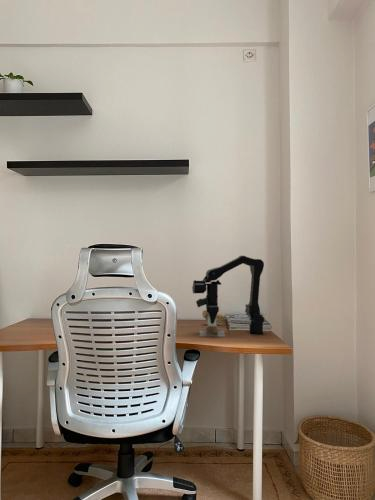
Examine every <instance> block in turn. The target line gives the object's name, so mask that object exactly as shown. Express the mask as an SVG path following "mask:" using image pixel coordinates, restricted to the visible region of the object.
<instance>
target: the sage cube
mask: <svg viewBox="0 0 375 500" xmlns="http://www.w3.org/2000/svg"><path fill="white" fill-rule="evenodd" d="M217 321H218V320H217V317H216V318H215V321H214V323H213V324H211V320H210V316H208V320H207V327H218V325H217Z"/></svg>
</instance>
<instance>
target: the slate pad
mask: <svg viewBox="0 0 375 500" xmlns="http://www.w3.org/2000/svg"><path fill="white" fill-rule="evenodd" d="M199 337H226V334H225V331H224V330H218V335H207V334H206V330H199Z"/></svg>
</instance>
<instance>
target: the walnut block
mask: <svg viewBox="0 0 375 500" xmlns="http://www.w3.org/2000/svg"><path fill="white" fill-rule="evenodd" d="M218 327H219V326H206V329H205V331H206V334H207V335H218V331H219V328H218Z"/></svg>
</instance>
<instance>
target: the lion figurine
mask: <svg viewBox="0 0 375 500" xmlns="http://www.w3.org/2000/svg"><path fill="white" fill-rule="evenodd" d="M208 316H210V314H209V313H208V312H207V311H206V309H205V310H203V311H202V318H204V319H205V321H208ZM216 317H217V321H219V323H218V325H219V326H221V327H224V326H225V325H226V326H227V325H228V324H227V323H226V321H225V318H224V316H223V315H222V314H220V313H217V316H216ZM218 325H217V326H218Z"/></svg>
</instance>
